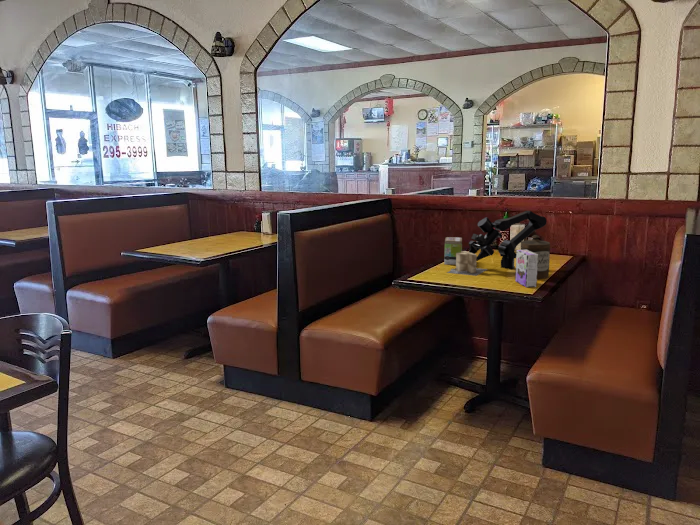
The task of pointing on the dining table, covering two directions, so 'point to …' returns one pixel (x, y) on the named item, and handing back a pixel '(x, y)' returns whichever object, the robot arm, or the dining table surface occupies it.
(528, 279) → the candy box
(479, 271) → the push board
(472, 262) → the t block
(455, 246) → the tea box
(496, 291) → the dining table surface
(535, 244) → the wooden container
